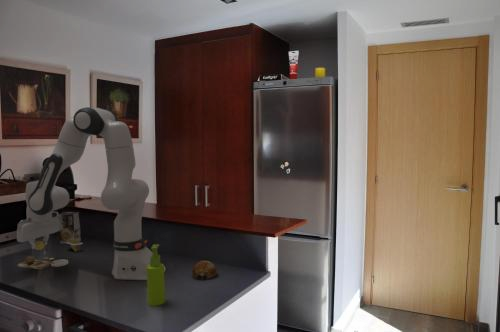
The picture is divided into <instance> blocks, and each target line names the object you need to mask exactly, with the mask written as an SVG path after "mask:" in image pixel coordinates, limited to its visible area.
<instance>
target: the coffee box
mask: <svg viewBox="0 0 500 332" xmlns="http://www.w3.org/2000/svg"><path fill="white" fill-rule="evenodd" d="M58 219H59V230H58V236H59V244H62V245H63V244H64V245H66V244H67V241H69V239H72V238H74V239H78V240H79V242H82V237H81V222H80V221H81V219H80V211H63V212H61V213H58Z"/></svg>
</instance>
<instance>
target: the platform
mask: <svg viewBox="0 0 500 332" xmlns="http://www.w3.org/2000/svg"><path fill="white" fill-rule="evenodd" d="M83 243H84V242H82V241H79V240H78V239H74V238H72V239H69V241H67V244H68V245H70V250H73V251H74V252H81V245H83Z"/></svg>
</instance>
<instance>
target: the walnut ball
mask: <svg viewBox="0 0 500 332" xmlns="http://www.w3.org/2000/svg"><path fill="white" fill-rule="evenodd" d="M35 260H36V258H35V256H33V255H28V256H26V257H25V259H24V262H25V263H26V264H27V265H32V264H33V263H34V262H35Z"/></svg>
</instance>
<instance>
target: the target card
mask: <svg viewBox="0 0 500 332" xmlns="http://www.w3.org/2000/svg"><path fill="white" fill-rule="evenodd" d="M47 259H48V260H54V259H55V258H54V257H49V256H48V257H46V256H45V257H43V260H47Z"/></svg>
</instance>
